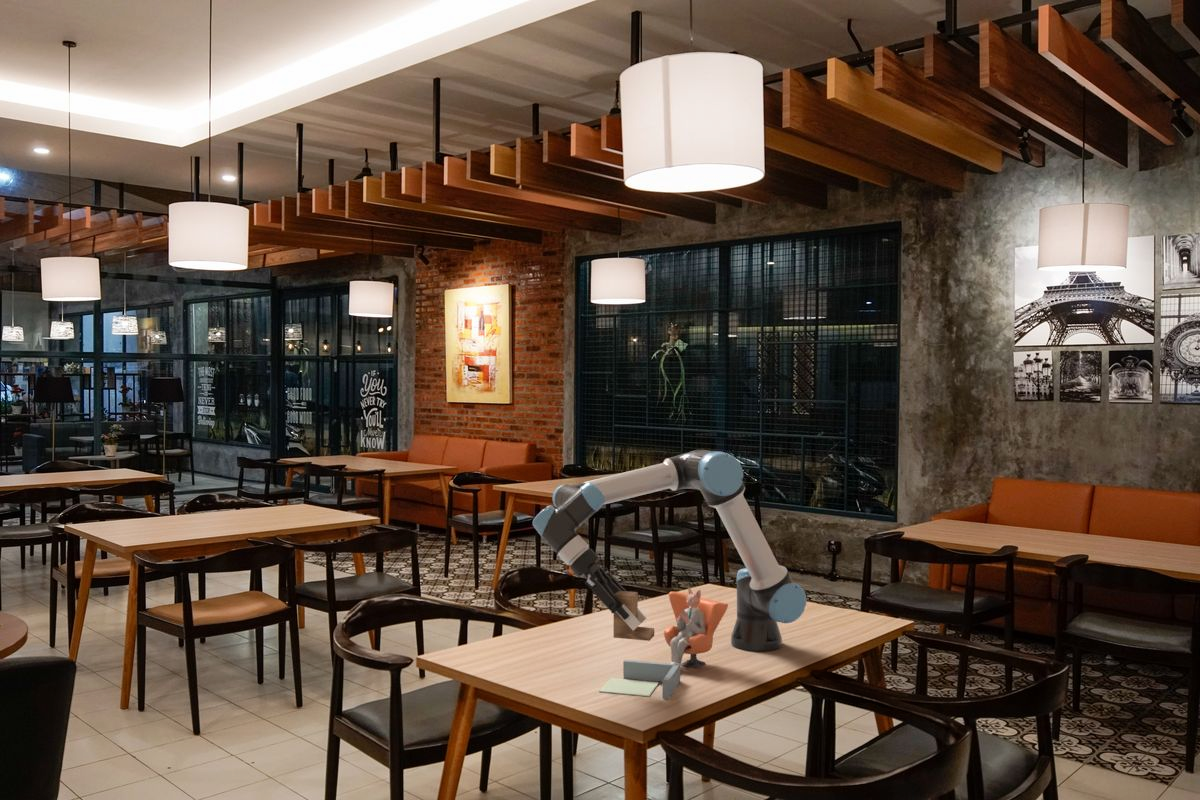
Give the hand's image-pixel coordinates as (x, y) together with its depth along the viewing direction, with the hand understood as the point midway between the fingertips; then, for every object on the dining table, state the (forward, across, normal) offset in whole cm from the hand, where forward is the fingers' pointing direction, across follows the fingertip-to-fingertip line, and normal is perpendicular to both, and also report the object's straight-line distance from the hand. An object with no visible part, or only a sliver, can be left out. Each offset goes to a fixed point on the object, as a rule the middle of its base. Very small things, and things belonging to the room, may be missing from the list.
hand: (639, 624), depth 237 cm
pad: (+10, 0, -14) cm, 17 cm away
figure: (+17, -22, -6) cm, 28 cm away
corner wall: (+13, -2, -10) cm, 17 cm away
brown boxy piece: (+1, 0, -4) cm, 4 cm away
